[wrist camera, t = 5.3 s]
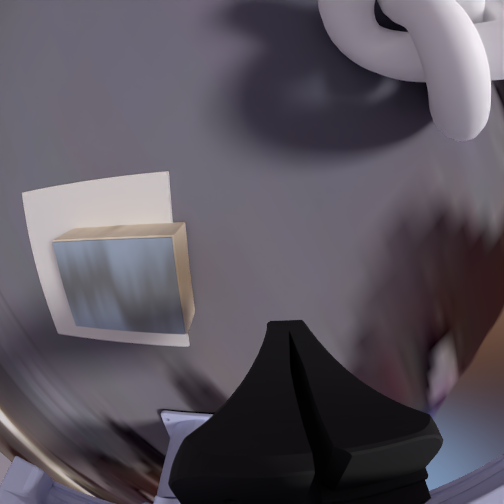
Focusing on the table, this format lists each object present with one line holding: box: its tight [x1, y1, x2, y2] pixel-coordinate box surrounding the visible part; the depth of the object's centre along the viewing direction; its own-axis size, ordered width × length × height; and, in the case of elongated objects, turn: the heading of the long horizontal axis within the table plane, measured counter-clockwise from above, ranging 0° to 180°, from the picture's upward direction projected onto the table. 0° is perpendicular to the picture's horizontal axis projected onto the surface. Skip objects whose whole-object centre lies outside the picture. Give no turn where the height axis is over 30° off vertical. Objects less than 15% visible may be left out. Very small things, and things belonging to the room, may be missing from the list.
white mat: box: [22, 171, 190, 347], centre depth 18 cm, size 12×12×1 cm
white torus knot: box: [318, 0, 504, 142], centre depth 8 cm, size 11×12×9 cm
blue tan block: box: [53, 222, 195, 334], centre depth 16 cm, size 6×3×8 cm
